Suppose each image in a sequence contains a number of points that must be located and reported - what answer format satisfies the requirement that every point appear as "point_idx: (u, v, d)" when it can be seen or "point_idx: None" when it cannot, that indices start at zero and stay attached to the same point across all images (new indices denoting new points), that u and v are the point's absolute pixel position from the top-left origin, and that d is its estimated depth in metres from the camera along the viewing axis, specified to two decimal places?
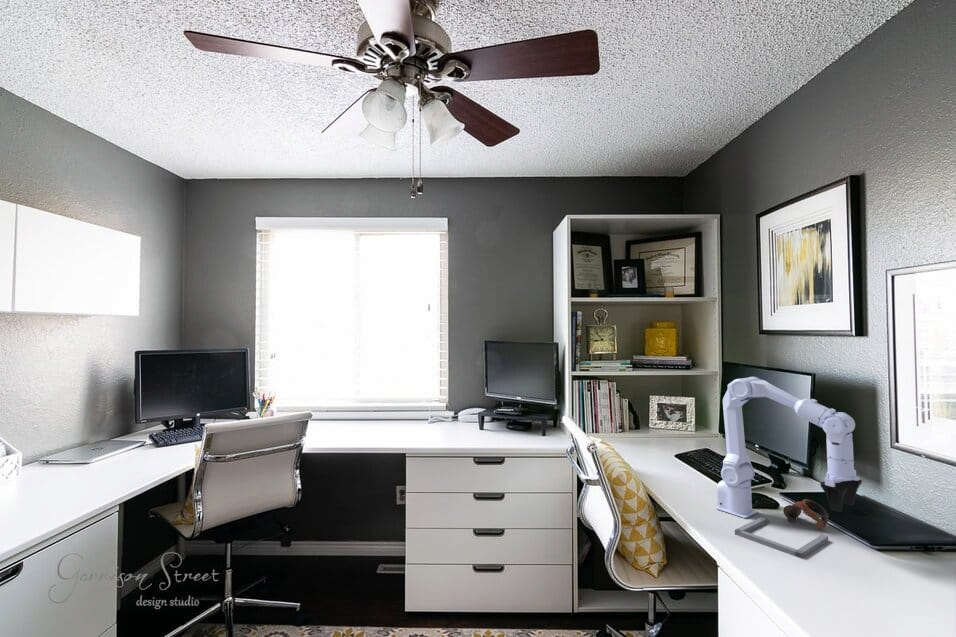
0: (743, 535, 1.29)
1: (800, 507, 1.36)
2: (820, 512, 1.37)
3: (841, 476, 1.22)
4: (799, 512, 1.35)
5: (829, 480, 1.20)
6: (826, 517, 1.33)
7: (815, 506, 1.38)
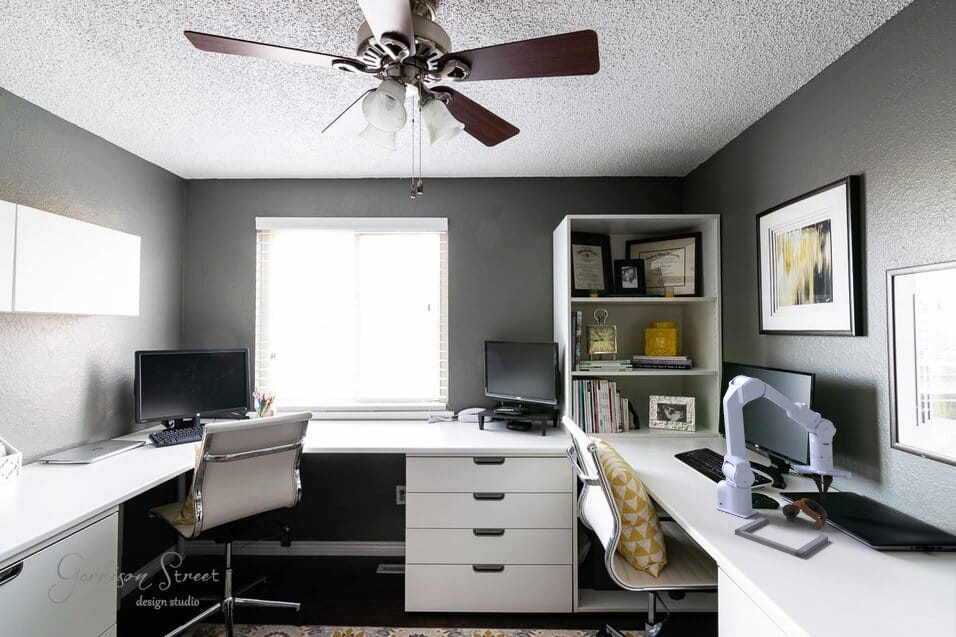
0: (743, 535, 1.29)
1: (799, 506, 1.37)
2: (819, 511, 1.38)
3: (811, 468, 1.45)
4: (798, 511, 1.36)
5: (794, 466, 1.49)
6: (825, 516, 1.33)
7: (814, 505, 1.39)
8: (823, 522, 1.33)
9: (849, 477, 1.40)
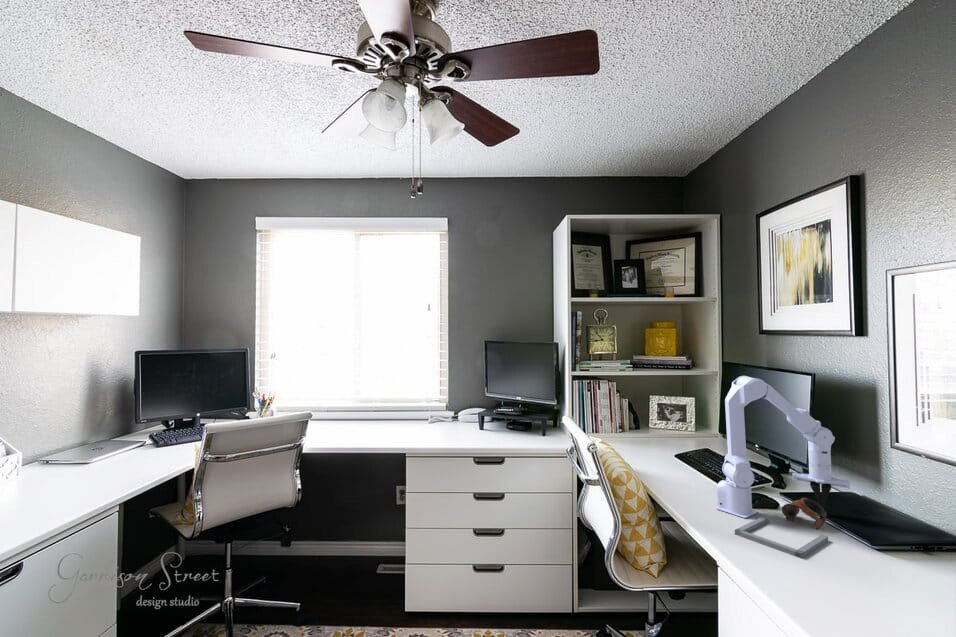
0: (743, 535, 1.29)
1: (798, 506, 1.37)
2: (818, 510, 1.38)
3: (809, 476, 1.45)
4: (797, 511, 1.36)
5: None
6: (824, 515, 1.34)
7: (813, 505, 1.39)
8: (822, 522, 1.34)
9: (848, 486, 1.39)
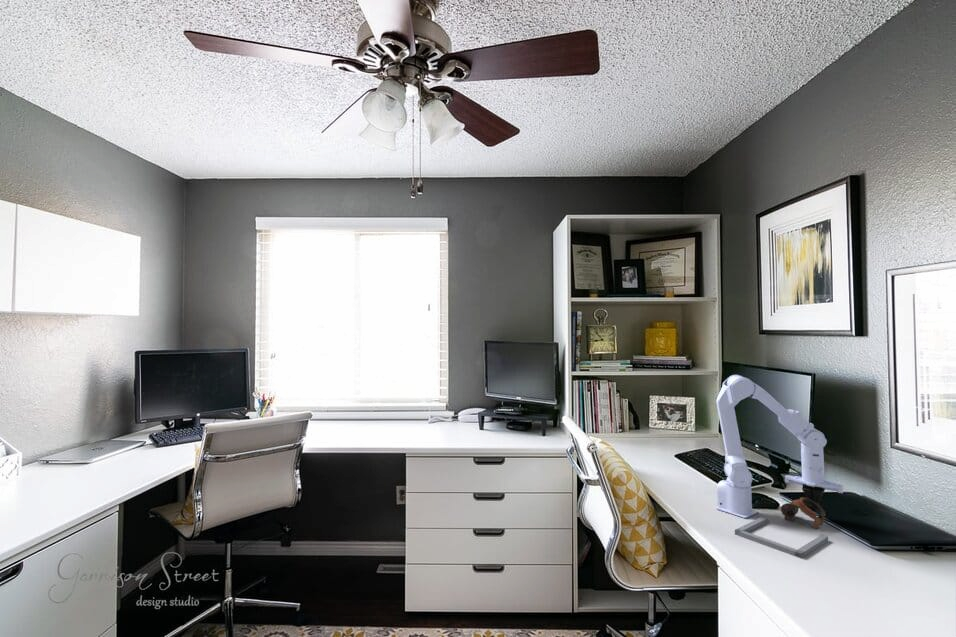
0: (743, 535, 1.29)
1: (797, 505, 1.37)
2: (817, 510, 1.38)
3: (802, 479, 1.42)
4: (796, 510, 1.36)
5: None
6: (823, 515, 1.34)
7: (812, 504, 1.39)
8: (821, 521, 1.34)
9: (840, 490, 1.36)
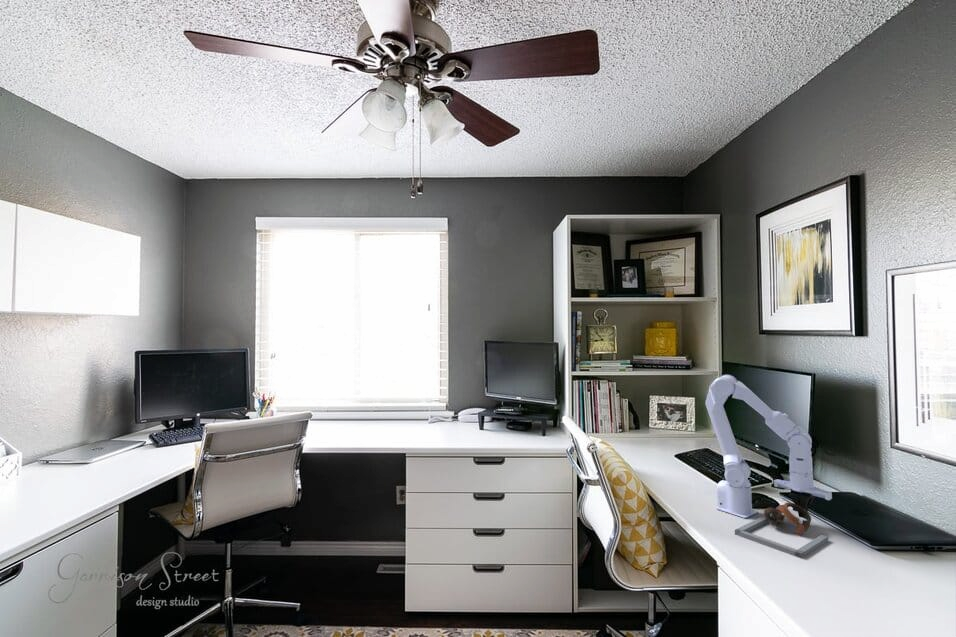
0: (743, 535, 1.29)
1: (781, 510, 1.34)
2: (804, 516, 1.34)
3: (790, 484, 1.38)
4: (779, 515, 1.33)
5: None
6: (807, 521, 1.30)
7: (799, 510, 1.35)
8: (805, 527, 1.30)
9: (827, 497, 1.31)
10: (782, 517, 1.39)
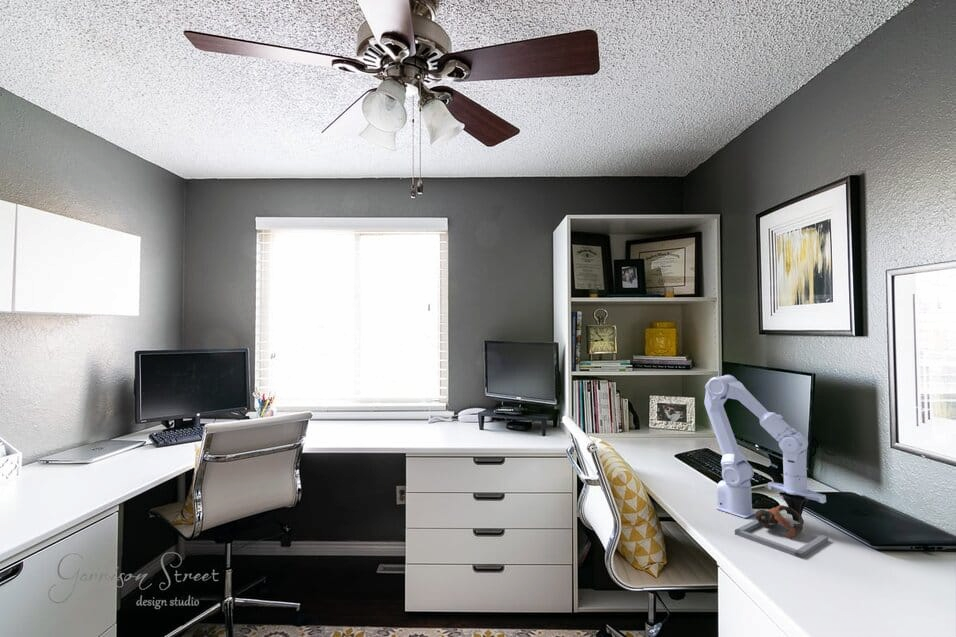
0: (743, 535, 1.29)
1: (773, 513, 1.32)
2: (798, 520, 1.32)
3: (783, 486, 1.36)
4: (770, 517, 1.31)
5: None
6: (798, 525, 1.28)
7: (793, 513, 1.33)
8: (796, 531, 1.28)
9: (821, 500, 1.28)
10: (776, 520, 1.37)
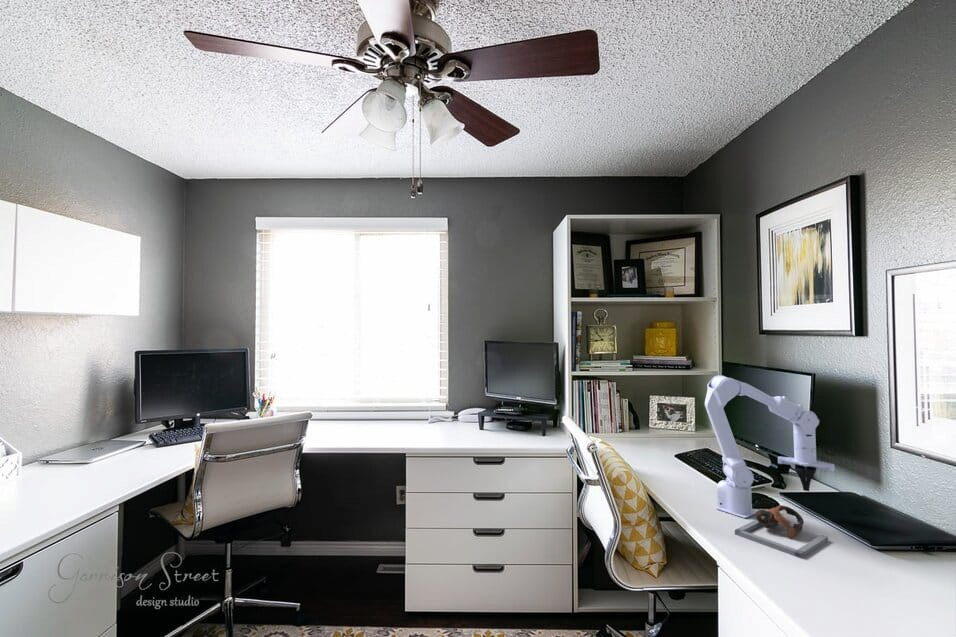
0: (743, 535, 1.29)
1: (773, 513, 1.32)
2: (798, 520, 1.32)
3: (794, 459, 1.45)
4: (770, 517, 1.32)
5: (778, 458, 1.48)
6: (798, 525, 1.28)
7: (793, 513, 1.33)
8: (796, 531, 1.28)
9: (832, 469, 1.38)
10: (776, 520, 1.37)
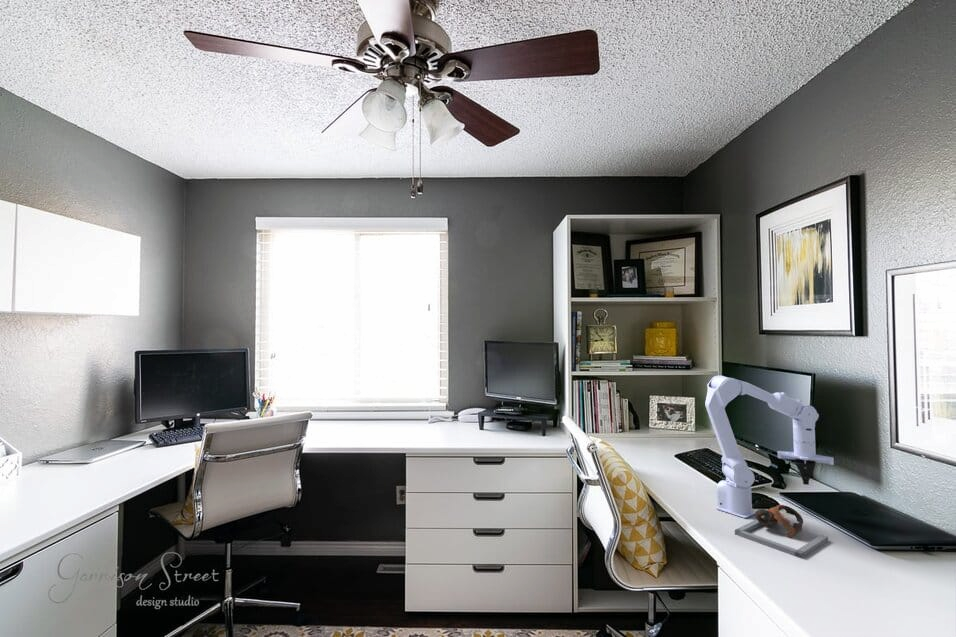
0: (743, 535, 1.29)
1: (772, 512, 1.33)
2: (797, 519, 1.32)
3: (794, 454, 1.46)
4: (770, 517, 1.32)
5: None
6: (798, 524, 1.28)
7: (792, 513, 1.33)
8: (796, 530, 1.28)
9: (831, 462, 1.40)
10: (776, 519, 1.37)
